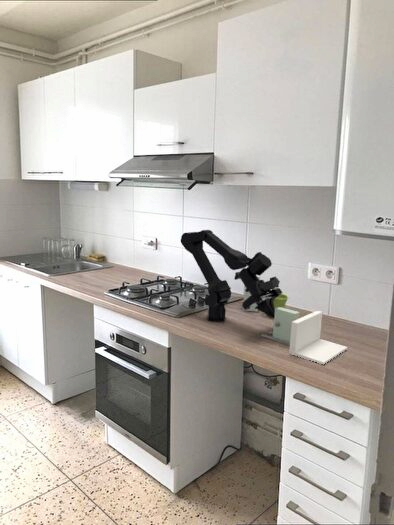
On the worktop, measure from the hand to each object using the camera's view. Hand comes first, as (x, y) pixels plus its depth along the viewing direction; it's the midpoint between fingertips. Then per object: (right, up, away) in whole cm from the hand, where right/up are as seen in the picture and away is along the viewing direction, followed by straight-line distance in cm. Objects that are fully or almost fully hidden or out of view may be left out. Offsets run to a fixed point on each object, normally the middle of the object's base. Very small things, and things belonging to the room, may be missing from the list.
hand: (275, 318), depth 149 cm
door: (+3, -8, -1) cm, 8 cm away
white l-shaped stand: (+7, -9, -5) cm, 12 cm away
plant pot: (+5, -3, +27) cm, 27 cm away
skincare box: (-5, -1, +35) cm, 35 cm away
